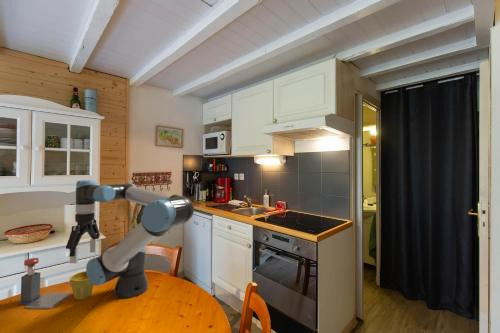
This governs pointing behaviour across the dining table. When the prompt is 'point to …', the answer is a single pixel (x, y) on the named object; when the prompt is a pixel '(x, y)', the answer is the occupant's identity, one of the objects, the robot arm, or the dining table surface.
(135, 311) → the dining table surface
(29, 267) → the ram
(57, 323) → the dining table surface
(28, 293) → the press base
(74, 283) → the plant pot
